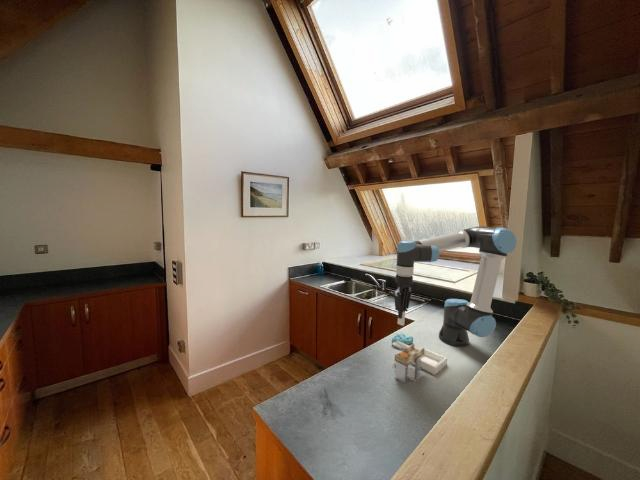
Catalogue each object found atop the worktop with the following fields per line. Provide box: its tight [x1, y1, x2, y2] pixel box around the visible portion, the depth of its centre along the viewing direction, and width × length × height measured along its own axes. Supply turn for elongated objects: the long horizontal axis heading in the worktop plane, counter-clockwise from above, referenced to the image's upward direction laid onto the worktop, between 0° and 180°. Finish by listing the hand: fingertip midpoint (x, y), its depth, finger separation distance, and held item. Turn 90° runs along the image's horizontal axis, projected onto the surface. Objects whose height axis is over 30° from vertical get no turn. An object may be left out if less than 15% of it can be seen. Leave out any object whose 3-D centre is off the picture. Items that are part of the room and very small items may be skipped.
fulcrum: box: [394, 358, 424, 384], centre depth 114 cm, size 11×10×8 cm
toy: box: [391, 333, 414, 345], centre depth 143 cm, size 10×5×15 cm
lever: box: [391, 341, 426, 367], centre depth 117 cm, size 15×14×3 cm
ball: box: [400, 352, 408, 359], centre depth 111 cm, size 3×3×3 cm
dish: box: [410, 347, 448, 376], centre depth 123 cm, size 12×12×4 cm
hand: (400, 324), depth 123 cm, fingers closed
